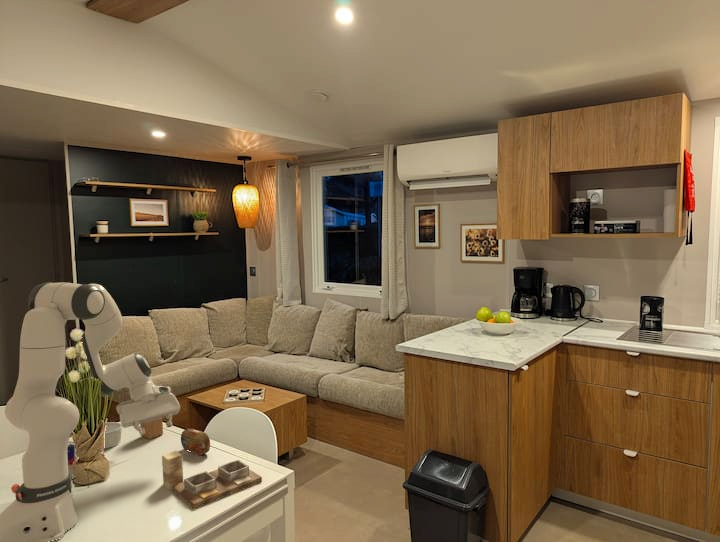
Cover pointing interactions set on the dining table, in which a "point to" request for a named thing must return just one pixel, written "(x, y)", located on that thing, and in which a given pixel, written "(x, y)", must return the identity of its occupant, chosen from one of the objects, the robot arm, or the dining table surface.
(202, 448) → the tin
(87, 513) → the dining table surface
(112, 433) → the ramekin
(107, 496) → the dining table surface
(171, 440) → the dining table surface
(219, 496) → the socket board
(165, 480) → the wooden plug
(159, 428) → the decorative item
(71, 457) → the energy drink
